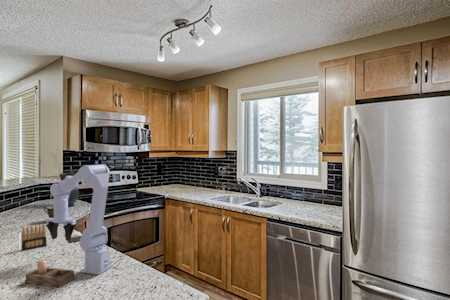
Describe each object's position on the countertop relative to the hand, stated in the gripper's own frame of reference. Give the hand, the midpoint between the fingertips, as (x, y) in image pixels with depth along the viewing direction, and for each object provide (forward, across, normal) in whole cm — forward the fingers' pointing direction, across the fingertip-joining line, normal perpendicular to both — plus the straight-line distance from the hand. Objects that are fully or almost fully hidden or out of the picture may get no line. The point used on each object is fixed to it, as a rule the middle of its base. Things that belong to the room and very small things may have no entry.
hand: (61, 239), depth 135 cm
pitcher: (+10, +88, -102) cm, 135 cm away
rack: (+9, -12, +18) cm, 23 cm away
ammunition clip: (+10, +26, -10) cm, 30 cm away
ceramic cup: (+10, +59, -55) cm, 82 cm away
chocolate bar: (+10, +18, -30) cm, 36 cm away
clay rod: (+8, -8, +18) cm, 21 cm away
